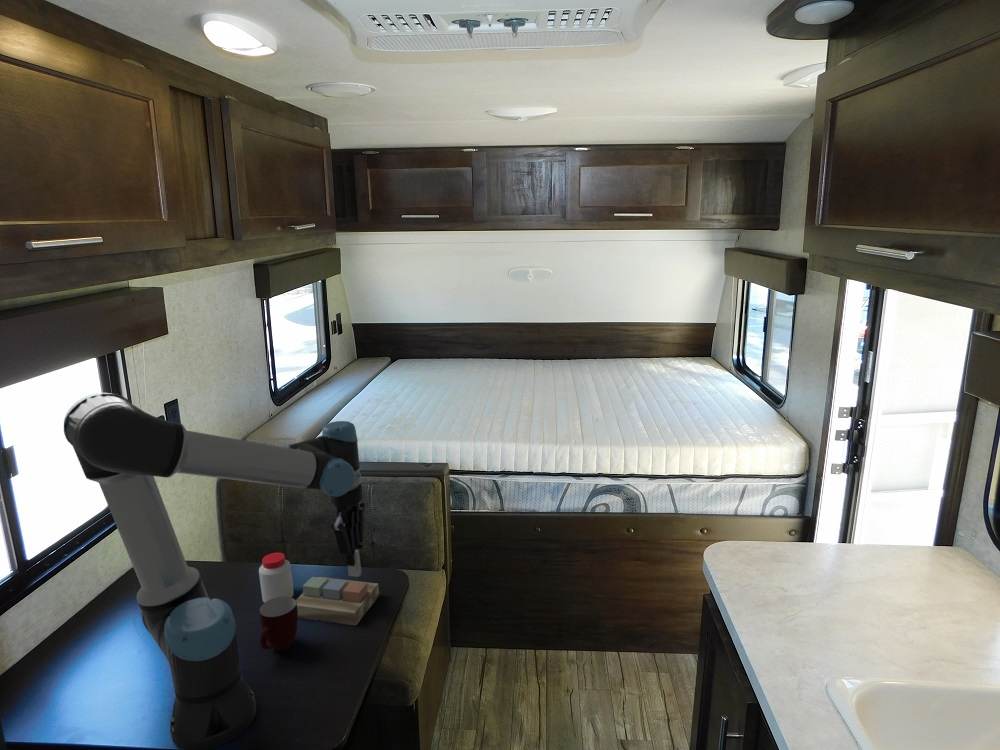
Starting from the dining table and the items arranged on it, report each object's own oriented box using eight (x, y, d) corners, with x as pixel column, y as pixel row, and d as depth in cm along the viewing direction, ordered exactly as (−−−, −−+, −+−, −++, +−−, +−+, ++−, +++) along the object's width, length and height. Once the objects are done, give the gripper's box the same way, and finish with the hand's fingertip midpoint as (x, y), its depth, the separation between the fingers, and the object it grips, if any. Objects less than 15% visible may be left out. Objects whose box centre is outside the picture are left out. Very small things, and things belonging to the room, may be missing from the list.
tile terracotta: (360, 603, 155) (359, 592, 154) (343, 601, 156) (342, 590, 155) (368, 593, 159) (367, 583, 158) (352, 591, 160) (351, 581, 159)
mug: (285, 665, 138) (280, 625, 135) (251, 663, 139) (245, 622, 137) (307, 635, 148) (302, 597, 146) (275, 633, 149) (270, 595, 147)
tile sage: (319, 598, 157) (318, 587, 157) (303, 596, 158) (302, 586, 158) (328, 589, 161) (327, 578, 161) (313, 587, 163) (312, 576, 162)
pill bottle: (261, 592, 166) (256, 554, 164) (291, 585, 170) (287, 547, 167) (263, 607, 160) (258, 568, 157) (295, 599, 163) (291, 560, 160)
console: (355, 625, 151) (354, 612, 150) (292, 617, 155) (291, 604, 154) (379, 595, 163) (378, 583, 162) (320, 588, 167) (318, 576, 167)
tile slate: (339, 601, 156) (338, 590, 155) (323, 599, 157) (322, 588, 156) (348, 591, 160) (347, 580, 159) (332, 589, 161) (331, 578, 160)
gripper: (346, 498, 143) (356, 590, 149) (371, 476, 156) (380, 562, 161) (317, 496, 145) (328, 587, 151) (344, 474, 158) (353, 559, 163)
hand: (355, 574), depth 156 cm, fingers closed
